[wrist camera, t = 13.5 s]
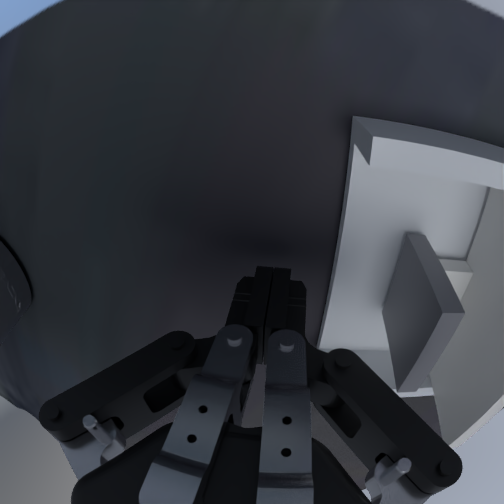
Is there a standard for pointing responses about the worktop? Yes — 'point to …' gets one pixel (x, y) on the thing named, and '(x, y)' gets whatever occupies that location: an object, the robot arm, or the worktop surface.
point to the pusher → (452, 325)
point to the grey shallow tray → (400, 224)
